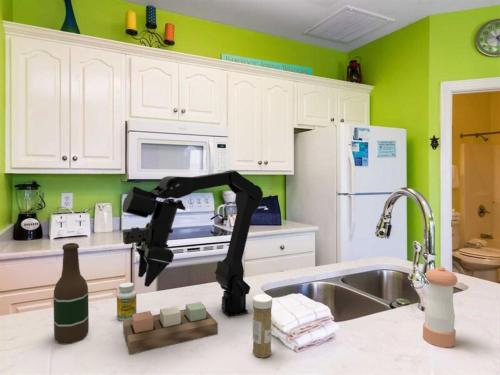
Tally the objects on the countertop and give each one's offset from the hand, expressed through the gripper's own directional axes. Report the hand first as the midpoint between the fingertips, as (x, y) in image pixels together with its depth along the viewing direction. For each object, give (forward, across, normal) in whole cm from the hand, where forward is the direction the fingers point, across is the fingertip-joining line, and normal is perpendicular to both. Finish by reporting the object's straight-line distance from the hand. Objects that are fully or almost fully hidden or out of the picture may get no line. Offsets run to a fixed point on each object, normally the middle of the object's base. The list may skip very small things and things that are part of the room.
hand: (143, 281), depth 84 cm
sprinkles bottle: (+8, +19, +27) cm, 34 cm away
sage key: (+7, +1, +17) cm, 18 cm away
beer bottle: (+19, -9, -11) cm, 23 cm away
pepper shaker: (-6, +34, +69) cm, 78 cm away
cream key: (+9, +1, +10) cm, 13 cm away
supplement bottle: (+14, -15, +2) cm, 20 cm away
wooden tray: (+12, 0, +11) cm, 16 cm away
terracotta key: (+11, +1, +3) cm, 12 cm away
